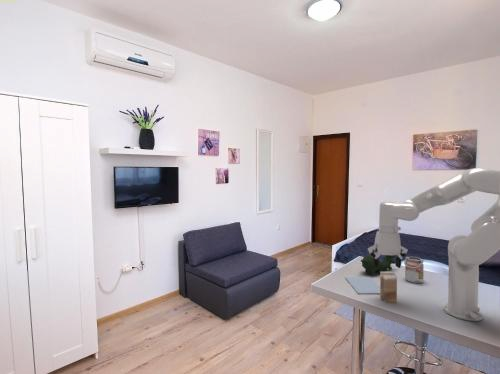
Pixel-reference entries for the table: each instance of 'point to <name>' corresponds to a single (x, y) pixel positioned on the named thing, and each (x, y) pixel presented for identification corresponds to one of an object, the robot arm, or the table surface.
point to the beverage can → (414, 269)
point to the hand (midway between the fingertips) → (387, 266)
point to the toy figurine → (383, 264)
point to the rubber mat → (363, 285)
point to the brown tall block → (388, 286)
